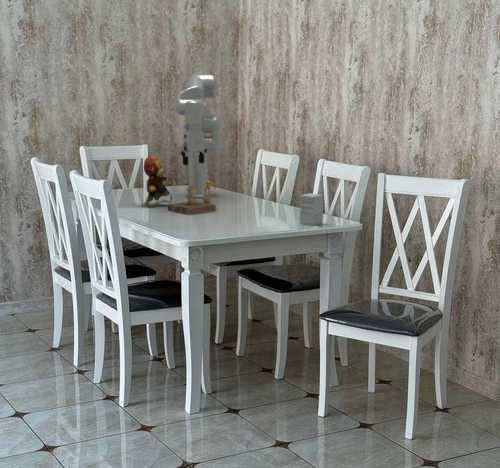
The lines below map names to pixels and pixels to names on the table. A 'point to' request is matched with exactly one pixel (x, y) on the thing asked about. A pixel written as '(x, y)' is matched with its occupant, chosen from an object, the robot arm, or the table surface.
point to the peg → (191, 195)
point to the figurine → (207, 197)
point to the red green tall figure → (155, 180)
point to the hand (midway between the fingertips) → (193, 164)
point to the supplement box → (311, 209)
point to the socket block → (191, 208)
